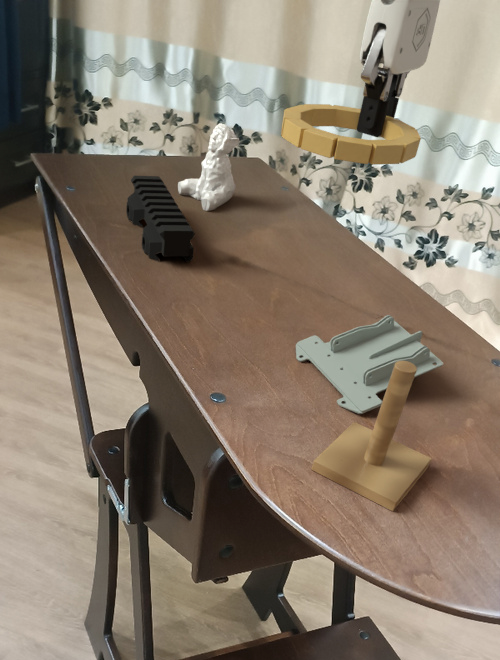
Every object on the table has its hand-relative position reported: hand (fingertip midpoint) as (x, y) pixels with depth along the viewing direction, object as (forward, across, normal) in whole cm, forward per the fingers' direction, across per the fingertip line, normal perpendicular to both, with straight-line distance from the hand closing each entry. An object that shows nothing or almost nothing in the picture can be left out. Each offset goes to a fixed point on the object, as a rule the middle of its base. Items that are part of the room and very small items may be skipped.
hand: (373, 131), depth 89 cm
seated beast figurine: (+21, +13, +32) cm, 40 cm away
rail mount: (+21, -7, +28) cm, 35 cm away
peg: (+21, -35, -23) cm, 47 cm away
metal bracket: (+21, -18, -14) cm, 31 cm away
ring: (0, -7, 0) cm, 7 cm away
